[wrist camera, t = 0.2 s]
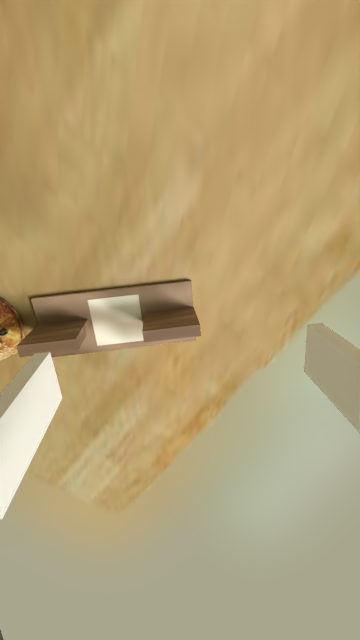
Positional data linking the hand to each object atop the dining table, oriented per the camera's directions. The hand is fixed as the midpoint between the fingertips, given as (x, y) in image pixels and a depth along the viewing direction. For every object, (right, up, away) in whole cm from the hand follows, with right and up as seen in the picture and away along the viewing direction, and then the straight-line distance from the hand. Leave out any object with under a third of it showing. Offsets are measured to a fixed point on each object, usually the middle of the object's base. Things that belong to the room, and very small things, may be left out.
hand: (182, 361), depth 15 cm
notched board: (-9, +2, +28) cm, 30 cm away
